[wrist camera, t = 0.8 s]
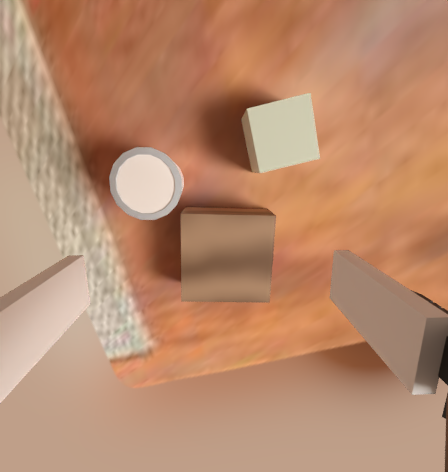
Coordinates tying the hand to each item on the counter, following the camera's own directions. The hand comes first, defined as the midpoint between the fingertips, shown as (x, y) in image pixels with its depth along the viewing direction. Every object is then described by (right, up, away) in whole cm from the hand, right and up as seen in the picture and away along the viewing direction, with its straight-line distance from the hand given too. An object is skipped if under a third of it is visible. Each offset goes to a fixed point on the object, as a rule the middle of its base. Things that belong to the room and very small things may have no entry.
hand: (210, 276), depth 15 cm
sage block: (+6, +13, +18) cm, 23 cm away
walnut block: (+1, +1, +20) cm, 20 cm away
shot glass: (-7, +9, +18) cm, 21 cm away
